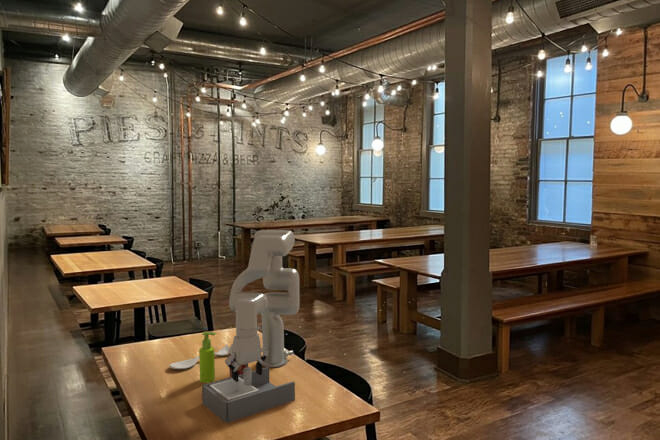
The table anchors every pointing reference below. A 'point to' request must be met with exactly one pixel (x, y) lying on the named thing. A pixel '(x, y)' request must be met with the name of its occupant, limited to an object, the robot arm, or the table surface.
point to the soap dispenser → (207, 359)
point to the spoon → (191, 362)
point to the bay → (249, 398)
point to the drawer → (235, 387)
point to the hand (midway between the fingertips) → (247, 377)
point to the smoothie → (241, 367)
